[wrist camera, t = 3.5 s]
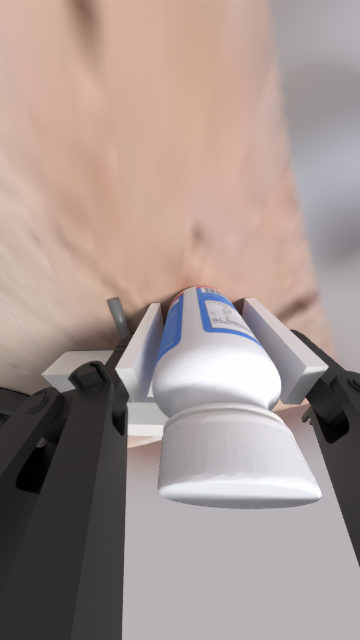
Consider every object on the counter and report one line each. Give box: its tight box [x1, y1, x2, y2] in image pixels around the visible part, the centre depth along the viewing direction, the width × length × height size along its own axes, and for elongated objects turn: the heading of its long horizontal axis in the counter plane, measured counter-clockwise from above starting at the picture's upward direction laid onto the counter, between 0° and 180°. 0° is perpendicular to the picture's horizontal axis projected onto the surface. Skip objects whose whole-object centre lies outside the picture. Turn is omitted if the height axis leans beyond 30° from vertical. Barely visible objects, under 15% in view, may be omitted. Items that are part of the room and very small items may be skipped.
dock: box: [41, 298, 170, 436], centre depth 15 cm, size 16×20×3 cm
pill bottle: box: [152, 286, 322, 509], centre depth 8 cm, size 6×5×10 cm
